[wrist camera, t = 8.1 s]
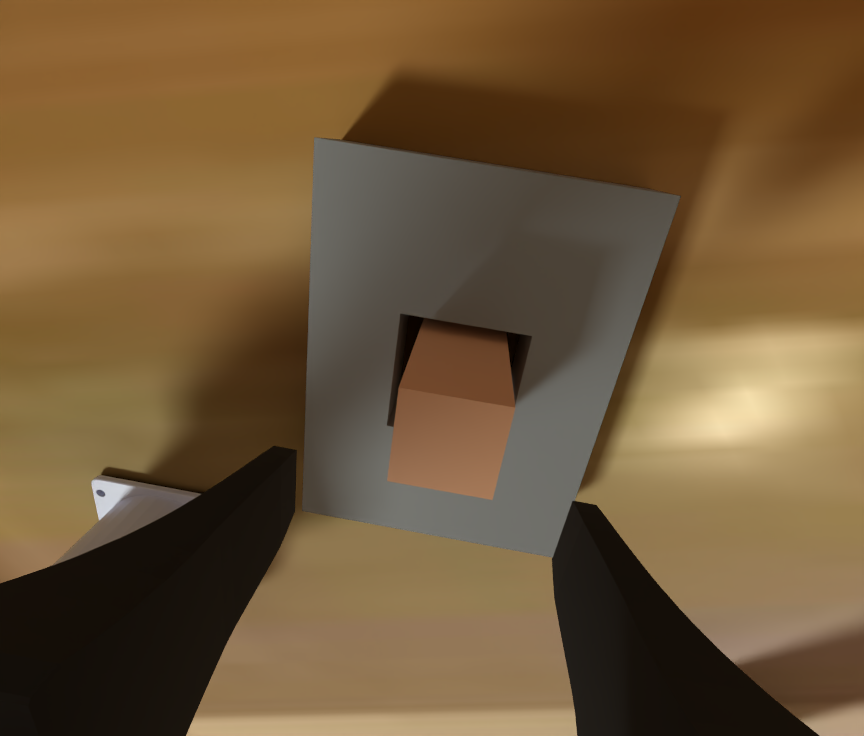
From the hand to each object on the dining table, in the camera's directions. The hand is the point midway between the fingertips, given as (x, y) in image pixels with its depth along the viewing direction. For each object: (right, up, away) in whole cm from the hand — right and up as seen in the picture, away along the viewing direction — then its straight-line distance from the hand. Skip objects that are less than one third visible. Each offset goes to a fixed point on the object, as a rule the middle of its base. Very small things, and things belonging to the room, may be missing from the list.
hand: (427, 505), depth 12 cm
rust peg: (+1, +5, +9) cm, 10 cm away
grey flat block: (+1, +4, +9) cm, 10 cm away
